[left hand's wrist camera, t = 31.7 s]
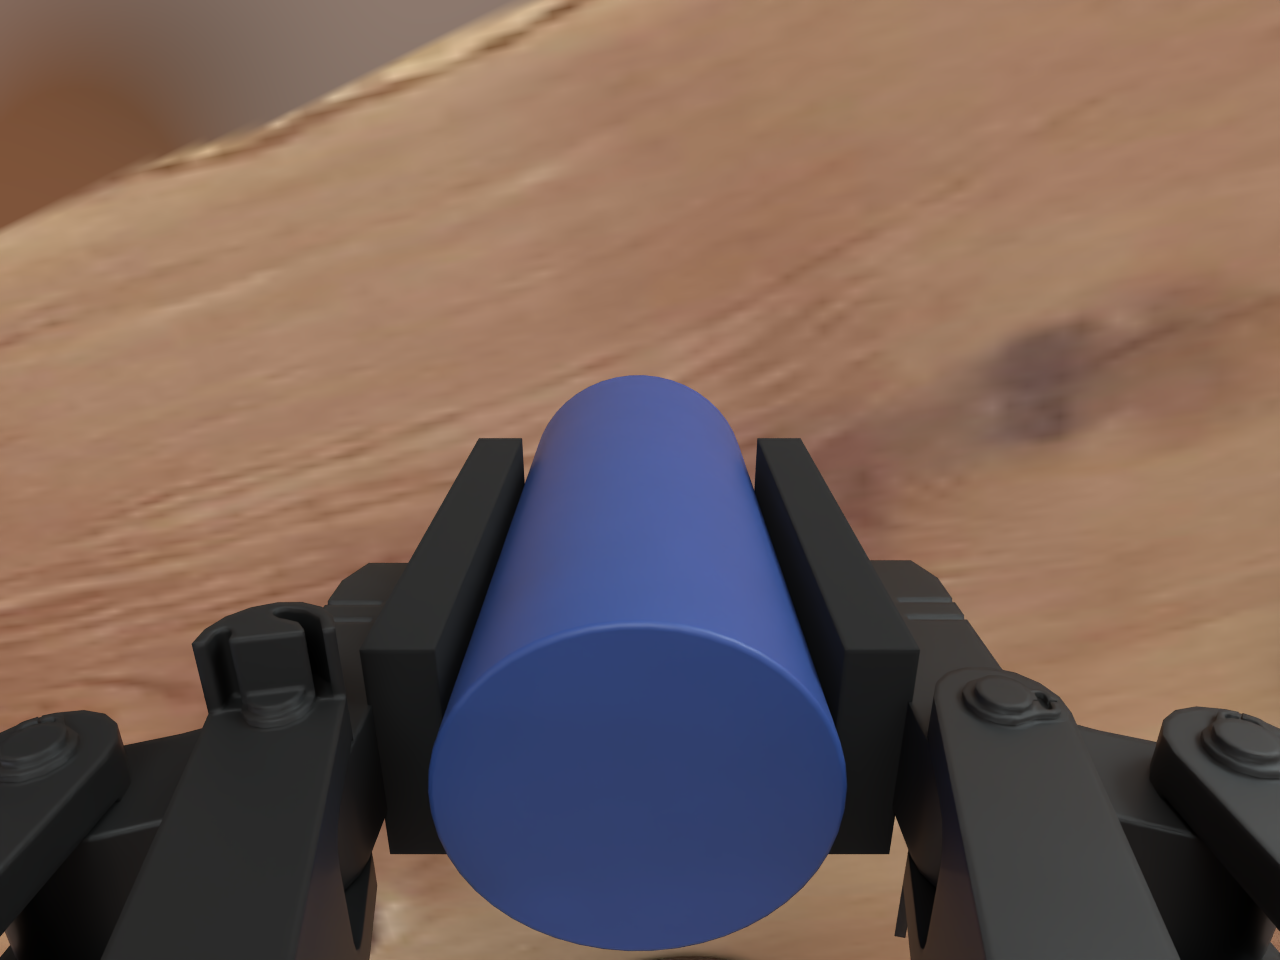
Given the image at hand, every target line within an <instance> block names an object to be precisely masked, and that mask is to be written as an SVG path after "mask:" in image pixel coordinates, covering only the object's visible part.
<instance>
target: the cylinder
mask: <svg viewBox="0 0 1280 960" xmlns="http://www.w3.org/2000/svg"><path fill="white" fill-rule="evenodd" d="M846 792H847V776H846V763H845V759H844V755H843V751H842V746H841V742H840V740H839V737H838V734H837V731H836V728H835V725H834V722H833V719H832V716H831V713H830V710H829V707H828V705H827V702H826V699H825V696H824V693H823V690H822V687H821V684H820V681H819V678H818V675H817V672H816V670H815V667H814V664H813V661H812V658H811V655H810V652H809V649H808V646H807V643H806V640H805V637H804V635H803V632H802V629H801V626H800V623H799V620H798V617H797V614H796V611H795V608H794V605H793V603H792V600H791V597H790V594H789V591H788V588H787V585H786V582H785V579H784V576H783V573H782V570H781V568H780V565H779V562H778V559H777V556H776V553H775V550H774V547H773V544H772V541H771V538H770V535H769V533H768V530H767V527H766V524H765V521H764V518H763V515H762V512H761V509H760V506H759V503H758V500H757V498H756V495H755V492H754V489H753V486H752V483H751V480H750V477H749V474H748V471H747V468H746V465H745V463H744V460H743V457H742V454H741V451H740V448H739V445H738V442H737V440H736V438H735V435H734V433H733V431H732V429H731V427H730V426H729V424H728V422H727V420H726V419H725V418H724V417H723V415H722V414H721V413H720V411H719V410H718V409H717V408H716V407H715V406H714V405H713V404H712V403H711V402H710V401H709V400H707V399H706V398H704V397H703V396H702V395H700V394H699V393H698V392H696V391H694V390H692V389H690V388H689V387H687V386H685V385H682V384H680V383H677V382H675V381H672V380H668V379H664V378H660V377H654V376H645V375H638V376H623V377H616V378H612V379H609V380H605V381H602V382H599V383H597V384H595V385H592V386H590V387H588V388H586V389H584V390H583V391H581V392H579V393H578V394H576V395H575V396H574V397H572V398H571V399H570V400H569V401H567V402H566V403H565V404H564V405H563V406H562V407H561V408H560V409H559V410H558V411H557V412H556V414H555V415H554V416H553V418H552V419H551V420H550V422H549V423H548V425H547V427H546V429H545V431H544V433H543V434H542V437H541V440H540V442H539V445H538V448H537V451H536V454H535V456H534V459H533V462H532V465H531V468H530V471H529V474H528V476H527V479H526V482H525V485H524V488H523V491H522V494H521V496H520V499H519V502H518V505H517V508H516V511H515V514H514V517H513V519H512V522H511V525H510V528H509V531H508V534H507V537H506V539H505V542H504V545H503V548H502V551H501V554H500V557H499V559H498V562H497V565H496V568H495V571H494V574H493V577H492V579H491V582H490V585H489V588H488V591H487V594H486V597H485V600H484V602H483V605H482V608H481V611H480V614H479V617H478V620H477V622H476V625H475V628H474V631H473V634H472V637H471V640H470V642H469V645H468V648H467V651H466V654H465V657H464V660H463V662H462V665H461V668H460V671H459V674H458V677H457V680H456V683H455V685H454V688H453V691H452V694H451V697H450V700H449V703H448V705H447V708H446V711H445V714H444V717H443V720H442V723H441V725H440V728H439V731H438V734H437V737H436V740H435V743H434V745H433V749H432V754H431V759H430V764H429V770H428V795H429V802H430V809H431V815H432V818H433V821H434V824H435V828H436V831H437V834H438V837H439V839H440V841H441V843H442V845H443V847H444V849H445V851H446V853H447V855H448V857H449V858H450V860H451V861H452V863H453V864H454V866H455V867H456V869H457V870H458V871H459V873H460V874H461V875H462V876H463V878H464V879H465V880H466V881H467V882H468V883H469V884H470V885H471V886H472V887H473V889H474V890H475V891H476V892H478V893H479V894H480V895H481V896H482V897H484V898H485V899H486V900H487V901H488V902H489V903H491V904H492V905H493V906H494V907H496V908H497V909H499V910H500V911H502V912H503V913H505V914H506V915H508V916H509V917H511V918H513V919H515V920H516V921H518V922H520V923H522V924H524V925H526V926H528V927H530V928H532V929H534V930H537V931H539V932H542V933H544V934H547V935H549V936H552V937H554V938H558V939H561V940H565V941H568V942H572V943H575V944H579V945H585V946H590V947H596V948H601V949H611V950H623V951H654V950H664V949H673V948H680V947H685V946H690V945H695V944H700V943H704V942H707V941H710V940H714V939H717V938H720V937H723V936H726V935H729V934H731V933H733V932H736V931H738V930H741V929H743V928H745V927H747V926H749V925H751V924H753V923H755V922H757V921H758V920H760V919H762V918H764V917H766V916H768V915H769V914H770V913H772V912H773V911H775V910H776V909H777V908H779V907H780V906H782V905H783V904H785V903H786V902H787V901H788V900H789V899H790V898H792V897H793V896H794V895H795V894H796V893H797V892H798V891H799V890H800V889H802V888H803V887H804V886H805V884H806V883H807V882H808V881H809V880H810V879H811V877H812V876H813V875H814V874H815V873H816V872H817V870H818V869H819V867H820V866H821V864H822V863H823V861H824V860H825V858H826V856H827V855H828V853H829V852H830V850H831V847H832V845H833V843H834V841H835V838H836V836H837V834H838V832H839V828H840V824H841V821H842V817H843V813H844V809H845V802H846Z"/></svg>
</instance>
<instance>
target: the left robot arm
mask: <svg viewBox="0 0 1280 960" xmlns="http://www.w3.org/2000/svg"><path fill="white" fill-rule="evenodd" d="M524 485H525V482H524V465H523V447H522V438H479V439H478V441H477V443H476V445H475V446H474V448H473V450H472V452H471V453H470V455H469V457H468V459H467V460H466V462H465V464H464V466H463V468H462V469H461V471H460V473H459V475H458V476H457V478H456V480H455V482H454V483H453V485H452V487H451V489H450V490H449V492H448V494H447V496H446V497H445V499H444V501H443V503H442V505H441V506H440V508H439V510H438V512H437V513H436V515H435V517H434V519H433V520H432V522H431V524H430V526H429V527H428V529H427V531H426V533H425V535H424V536H423V538H422V540H421V542H420V543H419V545H418V547H417V549H416V550H415V552H414V554H413V556H412V557H411V559H410V561H409V563H368V564H367V565H365V566H364V567H362V568H361V569H359V570H358V571H356V572H355V573H353V574H352V575H350V576H348V577H347V578H345V579H344V580H342V582H341V583H340V585H339V586H338V587H337V589H336V590H335V592H334V593H333V595H332V596H331V597H330V599H329V600H328V605H325V606H324V607H320V606H316V605H312V604H308V603H304V602H277V603H272V604H266V605H261V606H256V607H251V608H248V609H245V610H243V611H240V612H237V613H234V614H232V615H229V616H226V617H224V618H223V619H221V620H219V621H218V622H216V623H214V624H213V625H211V626H209V627H208V628H206V629H205V630H204V631H203V632H202V633H201V634H200V635H199V636H198V637H197V639H196V640H195V641H194V642H193V643H192V647H193V651H194V655H195V660H196V664H197V668H198V672H199V676H200V680H201V684H202V688H203V693H204V697H205V701H206V705H207V709H208V713H209V714H208V717H207V719H206V721H205V723H204V726H203V728H201V729H198V730H194V731H190V732H186V733H183V734H178V735H173V736H168V737H164V738H159V739H154V740H149V741H144V742H139V743H134V744H129V745H123V742H122V739H121V735H120V732H119V729H118V725H117V723H116V722H115V721H113V720H112V719H111V718H110V717H108V716H107V715H106V714H103V713H97V712H92V711H86V710H80V711H70V712H60V713H53V714H48V715H43V716H42V717H40V718H38V717H36V718H33V719H30V720H27V721H24V722H22V723H20V724H18V725H16V726H14V727H12V728H10V729H8V730H6V731H3V732H1V733H0V936H1V935H2V934H3V933H4V932H5V933H6V935H7V938H8V940H9V943H10V946H9V947H8V948H7V950H6V951H5V952H4V953H3V954H2V956H1V957H0V960H369V958H370V949H371V939H372V930H373V920H374V911H375V901H376V892H377V881H376V875H375V868H374V862H373V856H372V850H373V847H374V845H375V842H376V839H377V837H378V834H379V832H380V829H381V826H382V824H383V821H384V819H385V823H386V829H387V836H388V842H389V849H390V854H447V853H446V851H445V849H444V847H443V845H442V843H441V841H440V839H439V837H438V834H437V831H436V828H435V824H434V821H433V818H432V815H431V809H430V802H429V795H428V770H429V764H430V759H431V754H432V749H433V745H434V743H435V740H436V737H437V734H438V731H439V728H440V725H441V723H442V720H443V717H444V714H445V711H446V708H447V705H448V703H449V700H450V697H451V694H452V691H453V688H454V685H455V683H456V680H457V677H458V674H459V671H460V668H461V665H462V662H463V660H464V657H465V654H466V651H467V648H468V645H469V642H470V640H471V637H472V634H473V631H474V628H475V625H476V622H477V620H478V617H479V614H480V611H481V608H482V605H483V602H484V600H485V597H486V594H487V591H488V588H489V585H490V582H491V579H492V577H493V574H494V571H495V568H496V565H497V562H498V559H499V557H500V554H501V551H502V548H503V545H504V542H505V539H506V537H507V534H508V531H509V528H510V525H511V522H512V519H513V517H514V514H515V511H516V508H517V505H518V502H519V499H520V496H521V494H522V491H523V488H524ZM754 492H755V495H756V498H757V500H758V503H759V506H760V509H761V512H762V515H763V518H764V521H765V524H766V527H767V530H768V533H769V535H770V538H771V541H772V544H773V547H774V550H775V553H776V556H777V559H778V562H779V565H780V568H781V570H782V573H783V576H784V579H785V582H786V585H787V588H788V591H789V594H790V597H791V600H792V603H793V605H794V608H795V611H796V614H797V617H798V620H799V623H800V626H801V629H802V632H803V635H804V637H805V640H806V643H807V646H808V649H809V652H810V655H811V658H812V661H813V664H814V667H815V670H816V672H817V675H818V678H819V681H820V684H821V687H822V690H823V693H824V696H825V699H826V702H827V705H828V707H829V710H830V713H831V716H832V719H833V722H834V725H835V728H836V731H837V734H838V737H839V740H840V742H841V746H842V751H843V755H844V759H845V763H846V776H847V792H846V802H845V809H844V813H843V817H842V821H841V824H840V828H839V832H838V834H837V836H836V838H835V841H834V843H833V845H832V847H831V850H830V852H829V853H828V854H889V852H890V845H891V839H892V832H893V826H894V819H895V816H896V819H897V821H898V824H899V826H900V829H901V832H902V834H903V837H904V839H905V842H906V844H907V847H908V856H907V862H906V868H905V874H904V880H903V886H902V893H901V899H900V905H899V911H898V917H897V923H896V930H895V936H898V937H903V938H905V936H906V931H907V928H908V937H909V947H910V956H911V960H1280V953H1279V952H1278V950H1277V949H1276V948H1275V947H1274V946H1273V944H1272V943H1271V942H1270V941H1271V939H1272V936H1273V934H1274V931H1275V929H1276V928H1277V929H1278V930H1279V931H1280V729H1279V728H1277V727H1274V726H1272V725H1270V724H1268V723H1266V722H1264V721H1262V720H1261V719H1259V718H1256V717H1253V716H1250V715H1247V714H1244V713H1242V714H1240V713H1239V712H1236V711H1231V710H1226V709H1217V708H1207V707H1191V708H1185V709H1179V710H1175V711H1174V712H1172V713H1171V714H1170V715H1169V716H1167V717H1166V718H1165V719H1164V720H1163V723H1162V726H1161V730H1160V733H1159V736H1158V740H1157V742H1153V741H1148V740H1143V739H1139V738H1134V737H1129V736H1124V735H1119V734H1114V733H1109V732H1104V731H1099V730H1095V729H1091V728H1088V727H1084V726H1080V725H1077V724H1076V722H1075V720H1074V717H1073V715H1072V713H1071V712H1070V710H1069V709H1068V708H1067V706H1066V705H1065V704H1064V702H1063V701H1062V700H1061V698H1060V697H1059V696H1057V695H1056V694H1055V693H1053V692H1052V691H1050V690H1049V689H1047V688H1046V687H1045V686H1043V685H1042V684H1040V683H1038V682H1036V681H1034V680H1031V679H1029V678H1027V677H1024V676H1022V675H1020V674H1017V673H1014V672H1010V671H1005V670H1002V669H1001V667H1000V666H999V664H998V663H997V662H996V660H995V659H994V657H993V656H992V654H991V653H990V652H989V650H988V649H987V647H986V646H985V645H984V643H983V642H982V640H981V639H980V637H979V636H978V635H977V633H976V632H975V630H974V629H973V627H972V626H971V625H970V623H969V622H968V620H964V615H963V613H962V612H961V610H960V609H959V608H958V606H957V605H956V603H955V602H952V598H951V596H950V595H949V593H948V592H947V591H946V589H945V588H944V586H943V585H942V583H941V582H940V581H939V579H938V578H937V577H935V576H934V575H932V574H931V573H929V572H928V571H926V570H925V569H923V568H922V567H920V566H919V565H917V564H916V563H914V562H912V561H911V560H869V558H868V557H867V555H866V553H865V551H864V550H863V548H862V546H861V544H860V543H859V541H858V539H857V537H856V536H855V534H854V532H853V530H852V528H851V527H850V525H849V523H848V521H847V520H846V518H845V516H844V514H843V513H842V511H841V509H840V507H839V506H838V504H837V502H836V500H835V498H834V497H833V495H832V493H831V491H830V490H829V488H828V486H827V484H826V483H825V481H824V479H823V477H822V476H821V474H820V472H819V470H818V468H817V467H816V465H815V463H814V461H813V460H812V458H811V456H810V454H809V453H808V451H807V449H806V447H805V446H804V444H803V442H802V440H801V438H757V455H756V473H755V490H754ZM658 960H725V959H718V958H706V957H677V958H665V959H658Z"/></svg>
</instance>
